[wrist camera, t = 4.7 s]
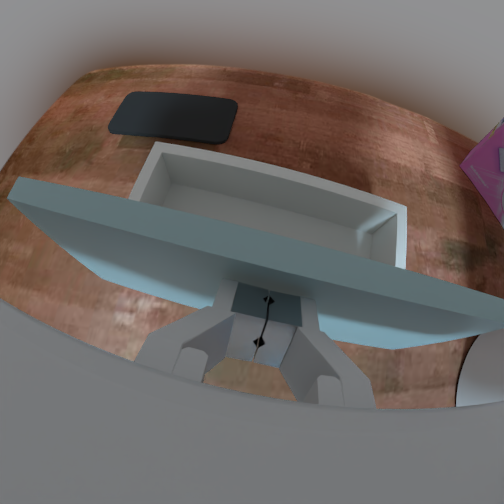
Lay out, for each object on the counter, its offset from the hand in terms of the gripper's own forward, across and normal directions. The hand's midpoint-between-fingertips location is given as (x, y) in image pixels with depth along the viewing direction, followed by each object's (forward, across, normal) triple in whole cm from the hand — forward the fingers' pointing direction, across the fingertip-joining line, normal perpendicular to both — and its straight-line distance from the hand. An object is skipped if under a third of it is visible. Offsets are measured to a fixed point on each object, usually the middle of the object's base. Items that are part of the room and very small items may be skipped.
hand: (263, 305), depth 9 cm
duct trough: (+15, 0, +6) cm, 17 cm away
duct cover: (+3, 0, +2) cm, 4 cm away
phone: (+26, +14, -4) cm, 29 cm away
